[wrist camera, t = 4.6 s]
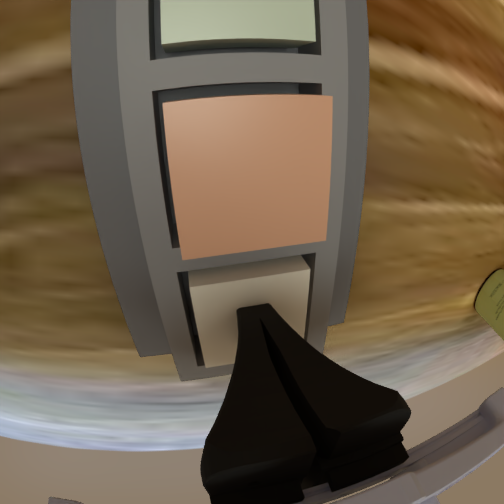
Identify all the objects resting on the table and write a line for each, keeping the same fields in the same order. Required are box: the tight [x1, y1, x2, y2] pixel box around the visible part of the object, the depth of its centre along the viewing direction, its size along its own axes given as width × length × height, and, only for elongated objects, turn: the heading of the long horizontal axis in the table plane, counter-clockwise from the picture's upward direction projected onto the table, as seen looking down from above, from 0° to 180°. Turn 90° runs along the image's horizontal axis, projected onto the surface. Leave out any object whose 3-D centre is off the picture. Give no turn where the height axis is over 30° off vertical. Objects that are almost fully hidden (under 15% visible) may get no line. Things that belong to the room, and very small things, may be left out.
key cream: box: [188, 255, 310, 368], centre depth 13 cm, size 5×5×2 cm
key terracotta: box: [163, 94, 333, 260], centre depth 9 cm, size 5×5×2 cm
